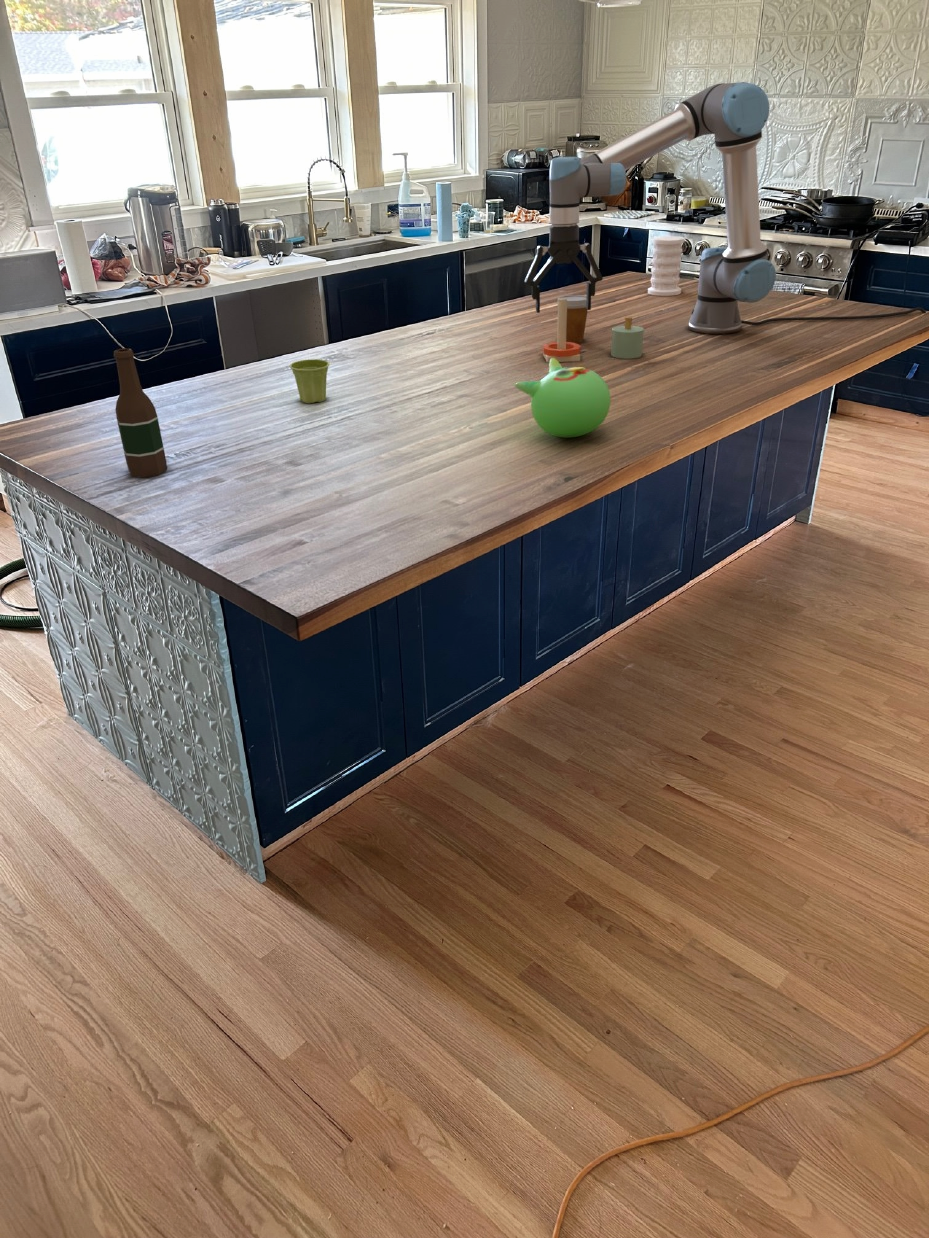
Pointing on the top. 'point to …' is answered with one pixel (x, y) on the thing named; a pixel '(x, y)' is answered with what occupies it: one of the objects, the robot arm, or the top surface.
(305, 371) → the plant pot
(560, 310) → the tall post
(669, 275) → the decorative container
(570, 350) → the ring
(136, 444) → the beer bottle
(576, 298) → the disposable coffee cup
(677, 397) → the top surface
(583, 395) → the toy bird
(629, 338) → the green cylinder with peg
